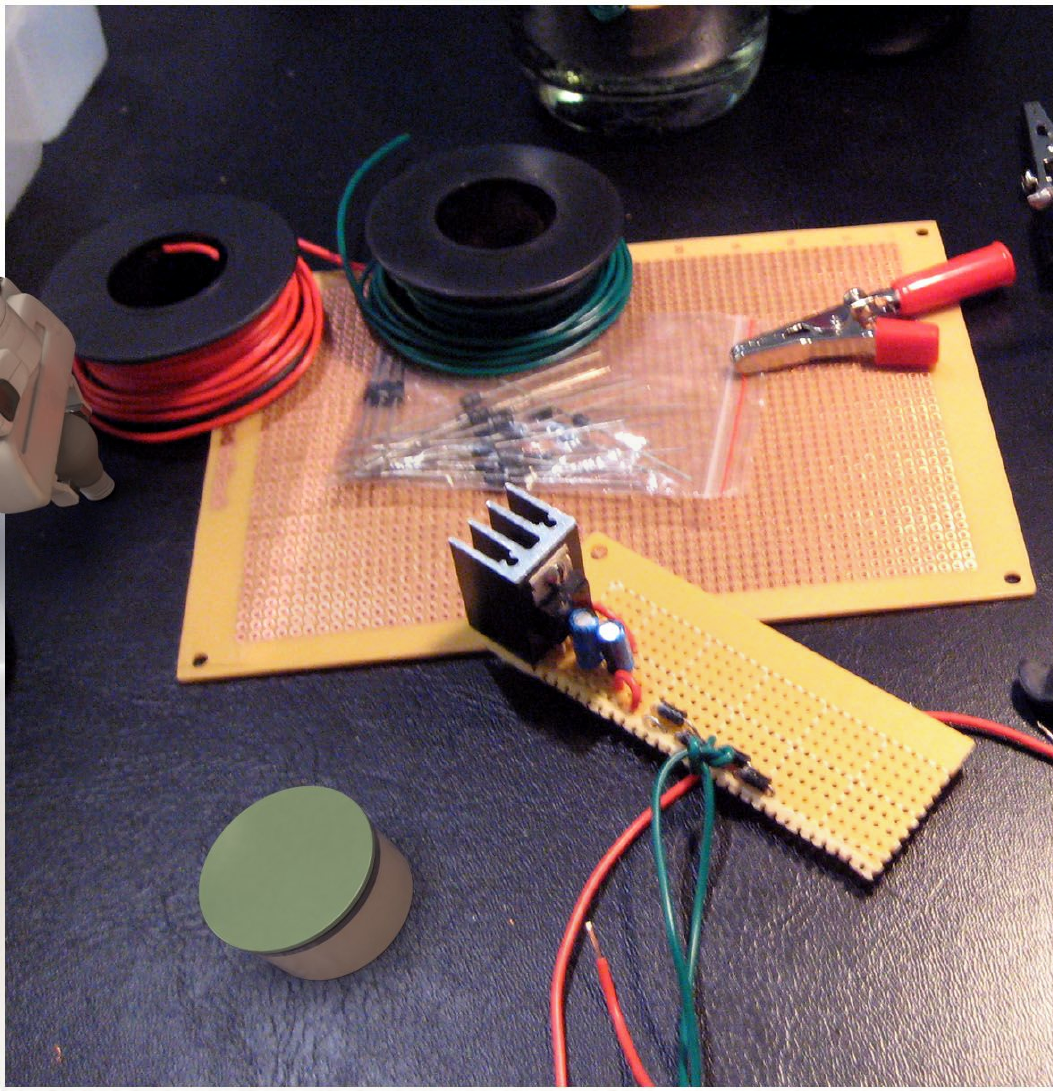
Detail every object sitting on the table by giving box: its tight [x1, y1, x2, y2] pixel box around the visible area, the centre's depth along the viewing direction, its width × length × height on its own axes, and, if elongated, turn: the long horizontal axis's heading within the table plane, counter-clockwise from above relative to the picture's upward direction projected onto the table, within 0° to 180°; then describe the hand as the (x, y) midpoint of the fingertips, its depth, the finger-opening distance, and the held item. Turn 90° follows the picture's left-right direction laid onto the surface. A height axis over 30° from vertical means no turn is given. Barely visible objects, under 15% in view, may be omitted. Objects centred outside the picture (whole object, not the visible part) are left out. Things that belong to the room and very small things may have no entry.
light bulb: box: [55, 412, 115, 501], centre depth 108 cm, size 6×6×10 cm
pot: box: [198, 785, 414, 981], centre depth 86 cm, size 12×12×9 cm
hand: (77, 458), depth 108 cm, fingers open, 8 cm apart
